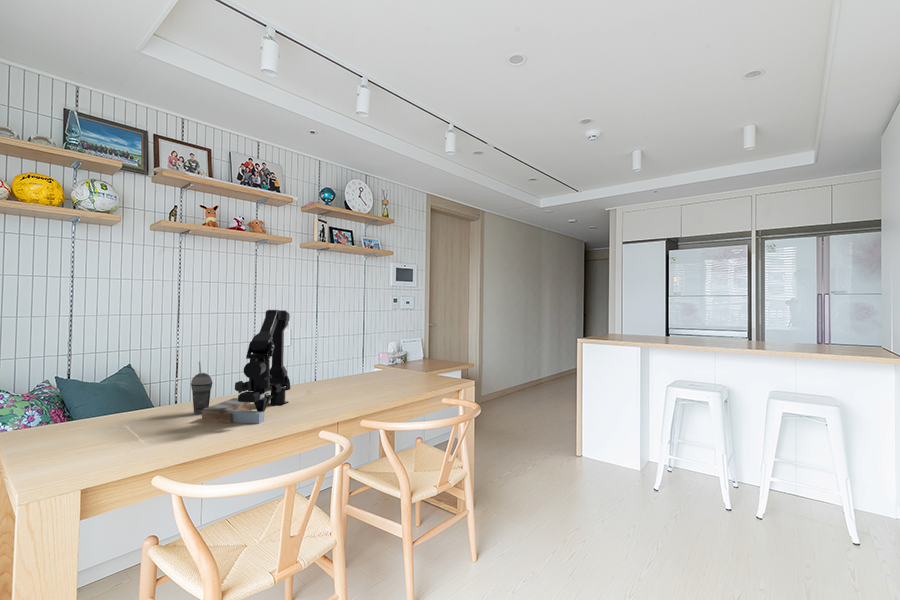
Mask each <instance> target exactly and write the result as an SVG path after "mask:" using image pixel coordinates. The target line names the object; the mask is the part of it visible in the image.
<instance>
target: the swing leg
mask: <svg viewBox="0 0 900 600" xmlns="http://www.w3.org/2000/svg"><path fill="white" fill-rule="evenodd" d="M226 413H233V417H232V423H241V424H262V423H264V422H265V411H264V412H261V411H257V410H249V411H243V410H228V411H226Z"/></svg>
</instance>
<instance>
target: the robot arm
mask: <svg viewBox="0 0 900 600" xmlns="http://www.w3.org/2000/svg"><path fill="white" fill-rule="evenodd" d="M290 318H291V316H290V313H289V312H288V311H287V310H286V309H285V310H283V309H282V310H280V309H267V310H266V311H265V317H264V320H263V322H262V324H261V328H260V330H259V332H258V333H257V334H255V335H254V336H253V338H252V339H251V341H250V342H249V345H248V348H247V352H246V358H245V359H247V360H249V362H247V363H246V364H245V365H244V367H243V374H244V375H245V377H247V378H248V381H245V382H244V381H242V380H239V381H236V382H235V384H234V390H235V391H236V392H237V393H238V396H237V398H238V402H250V403H253V405H254V406H255V409H256V411H261V412H264V413H265V411H266V409H267V407H268V406H275V407H282V406H284V405H286V404H288V403H290V402H289V401H286V391H290V390H291V381H290V378H289V376H288V370H287V369H286V367H285V365H284V350H285V349H284V345H285V344H284V343H285V342H284V340H285V339H284V337H285V330H286V329H287V327H288V326H289V322H290ZM270 360H271V361H270ZM270 366H271V367H270Z"/></svg>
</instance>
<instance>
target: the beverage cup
mask: <svg viewBox="0 0 900 600" xmlns="http://www.w3.org/2000/svg"><path fill="white" fill-rule="evenodd" d="M201 365H202V363H201V361H198V368H199V369H198V370H199V371H198V372H199V373H197V374H196V375H194V376H193V377H192V379H191V382H190V387H191V392H192V403H193V405H192V407H193V414H194V415H196V416H199V415H200V416H202V411H203V409H204V408H207V407H210V400H211V399H210V398H211V393H212V391H211V390H212V386H213V380H212V377H211V376H210V375H209V374H208V373H205V372H202V366H201Z"/></svg>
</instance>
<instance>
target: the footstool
mask: <svg viewBox="0 0 900 600" xmlns="http://www.w3.org/2000/svg"><path fill="white" fill-rule="evenodd" d="M228 410H243V411H251V402H238V397H232V398H230V399H227V400H224V401H222V402H220V403H219V402H218V403H216V404H213V405H209V407H207V408H204V409H203V411H202V415H201V422H202V423H214V424H215V423H217V424H233V422H232V417H233V413H226V411H228Z"/></svg>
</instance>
